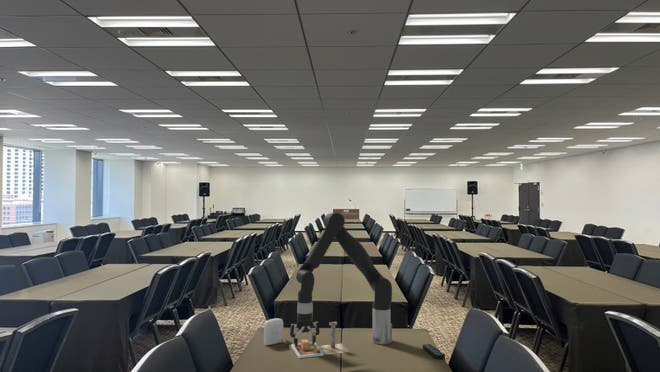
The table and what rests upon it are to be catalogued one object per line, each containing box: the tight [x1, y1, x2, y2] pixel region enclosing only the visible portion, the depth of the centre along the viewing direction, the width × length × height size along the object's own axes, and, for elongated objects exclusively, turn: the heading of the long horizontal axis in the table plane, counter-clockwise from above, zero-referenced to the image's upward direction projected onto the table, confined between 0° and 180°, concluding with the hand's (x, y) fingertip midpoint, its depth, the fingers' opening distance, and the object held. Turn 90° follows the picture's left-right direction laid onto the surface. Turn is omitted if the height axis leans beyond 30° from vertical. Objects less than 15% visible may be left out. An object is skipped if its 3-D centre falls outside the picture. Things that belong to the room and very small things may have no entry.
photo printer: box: [263, 317, 284, 346], centre depth 211 cm, size 10×4×12 cm, turn 123°
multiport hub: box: [422, 343, 446, 360], centre depth 197 cm, size 4×14×2 cm, turn 14°
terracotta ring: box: [298, 338, 319, 355], centre depth 197 cm, size 8×13×4 cm
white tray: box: [291, 341, 325, 359], centre depth 196 cm, size 12×16×2 cm
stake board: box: [318, 321, 351, 356], centre depth 199 cm, size 12×12×14 cm
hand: (304, 344), depth 201 cm, fingers open, 8 cm apart
